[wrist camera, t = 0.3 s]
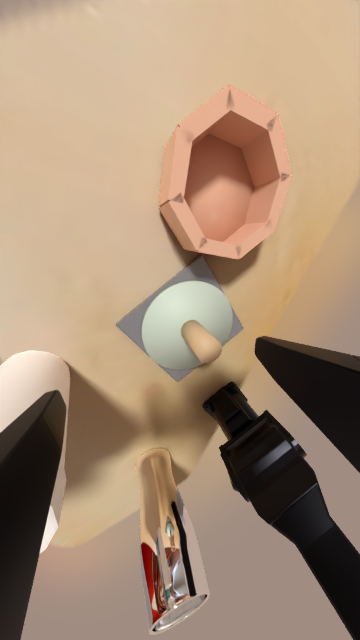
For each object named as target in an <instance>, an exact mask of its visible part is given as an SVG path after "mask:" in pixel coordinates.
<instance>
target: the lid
mask: <svg viewBox="0 0 360 640" xmlns="http://www.w3.org/2000/svg"><path fill="white" fill-rule="evenodd" d="M232 321H233V314H232V308H231V305H230V303H229V300H228V299H227V297H226V296H225V294H224V293H223V292H222V291H221V290H219V289H218V288H217V287H215V286H213V285H211V284H209V283H206V282H203V281H197V280H189V281H182V282H178V283H176V284H173V285H171V286H169V287H167V288H166V289H164V290H163V291H161V292H160V293H159V294H158V295H157V296H156V297H155V298H154V299H153V300H152V302H151V303H150V305H149V306H148V308H147V310H146V312H145V314H144V317H143V320H142V326H141V335H142V340H143V344H144V347H145V349H146V351H147V353H148V354H149V356H150V357H151V358H152V359H153V360H154V361H155V362H156V363H157V364H159V365H161V366H163V367H165V368H169V369H174V370H185V369H191V368H194V367H197V366H200V365H202V364H204V363H211V362H213V361H215V360H216V359H217V358H218V357H219V356H220V354H221V351H222V347H223V346H224V344H225V343H226V341H227V339H228V337H229V334H230V332H231V328H232Z"/></svg>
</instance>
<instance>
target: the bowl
mask: <svg viewBox="0 0 360 640" xmlns="http://www.w3.org/2000/svg"><path fill="white" fill-rule="evenodd" d="M290 175H292V171H291V167H290V162H289V158H288V153H287V149H286V144H285V140H284V135H283V131H282V126H281V122H280V118H279V114H278V115H277V111H275V110H273V109H272V108H270V107H268V106H267V105H265V104H263V103H262V102H260V101H258V100H256V99H255V98H253V97H251V96H250V95H248V94H246V93H245V92H243V91H241V90H240V89H238V88H236V87H234V86H233V85H231V84H230V85H226V86H225V87H224V88H223V89H221V90H220V91H219V92H218V93H216V94H215V95H214V96H213V97H211V98H210V99H209V100H208V101H206V102H205V103H204V104H203V105H201V106H200V107H199V108H198V109H196V110H195V111H194V112H193V113H191V114H190V115H189V116H188V117H186V118H185V119H184V120H183V121H181V122H180V123H179V124H178V125H177V127H176V129H175V131H174V132H173V134H172V136H171V137H170V139H169V141H168V143H167V144H166V146H165V150H164V159H163V168H162V177H161V186H160V195H159V204H158V206H159V207H160V208H159V210H160V211H161V213H162V215H163V216H164V218H165V219H166V221H167V223H168V225H169V227H170V229H171V230H172V232H173V233H174V235H175V236H176V237H177V239H178V241H179V242H180V244H181V246H182V247H183V249H185V250H188V251H193V252H199V253H204V254H210V255H215V256H221V257H227V258H233V259H240V258H242V257H243V256H244V255H245V254H247V253H248V252H249V251H250V250H252V249H253V248H254V247H255V246H256V245H258V244H259V243H260V242H261V241H263V240H264V239H265V238H266V237H268V236H269V235H270V234H271V233H273V232H274V230H275V229H276V226H277V222H278V219H279V216H280V213H281V210H282V207H283V203H284V200H285V197H286V194H287V191H288V187H289V184H290V181H291V178H292V176H290Z"/></svg>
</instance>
